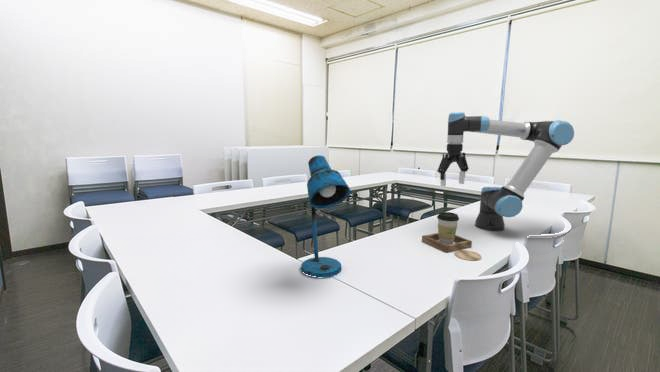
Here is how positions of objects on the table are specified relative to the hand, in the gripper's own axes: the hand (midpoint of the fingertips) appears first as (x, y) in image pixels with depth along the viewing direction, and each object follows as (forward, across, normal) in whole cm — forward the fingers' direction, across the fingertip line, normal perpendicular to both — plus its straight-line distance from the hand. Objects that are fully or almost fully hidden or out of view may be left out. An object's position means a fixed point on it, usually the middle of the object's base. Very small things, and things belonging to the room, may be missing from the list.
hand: (452, 184), depth 166 cm
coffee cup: (+26, +14, +10) cm, 32 cm away
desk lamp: (+26, +80, +9) cm, 85 cm away
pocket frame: (+26, +14, +10) cm, 32 cm away
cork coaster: (+26, +17, +25) cm, 40 cm away
